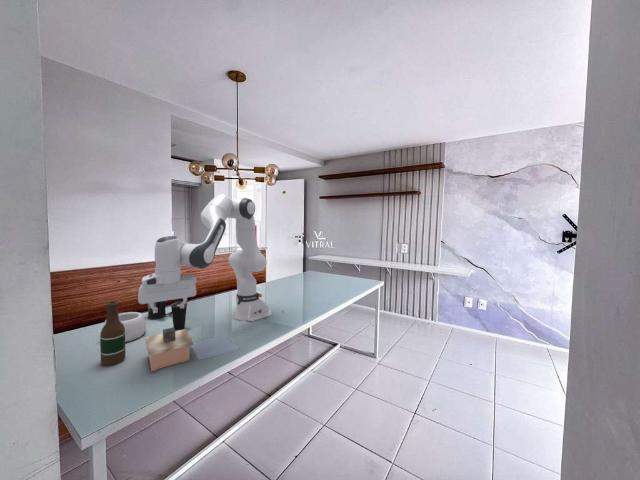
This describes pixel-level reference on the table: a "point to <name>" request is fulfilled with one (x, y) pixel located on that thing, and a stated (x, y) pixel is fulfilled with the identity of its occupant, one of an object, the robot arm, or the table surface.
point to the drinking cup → (178, 315)
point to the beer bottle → (112, 337)
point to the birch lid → (168, 341)
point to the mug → (132, 325)
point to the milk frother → (161, 310)
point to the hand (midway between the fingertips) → (169, 310)
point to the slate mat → (213, 346)
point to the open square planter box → (168, 358)
